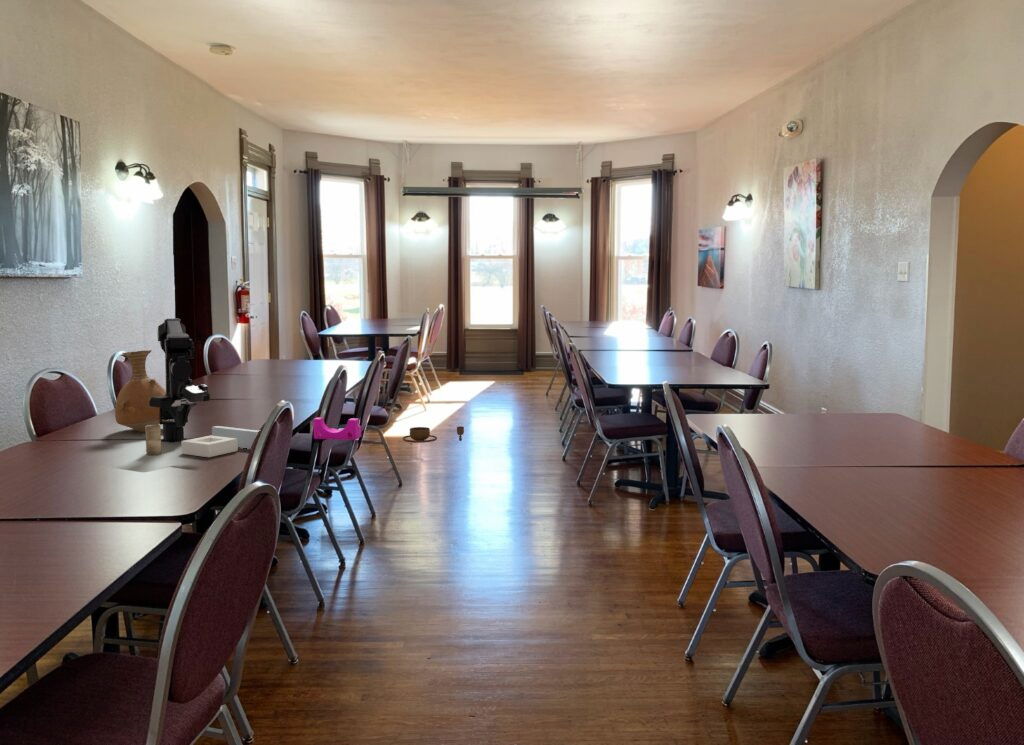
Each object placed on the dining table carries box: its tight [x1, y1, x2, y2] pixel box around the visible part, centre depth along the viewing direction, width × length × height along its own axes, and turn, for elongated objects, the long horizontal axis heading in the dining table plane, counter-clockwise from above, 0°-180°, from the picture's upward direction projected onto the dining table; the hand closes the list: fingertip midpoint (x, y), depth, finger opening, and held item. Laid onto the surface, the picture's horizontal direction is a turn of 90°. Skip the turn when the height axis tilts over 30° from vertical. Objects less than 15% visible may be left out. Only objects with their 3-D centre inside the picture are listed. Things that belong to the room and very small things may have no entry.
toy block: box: [313, 416, 362, 441], centre depth 305 cm, size 15×6×8 cm, turn 83°
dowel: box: [145, 424, 162, 456], centre depth 276 cm, size 4×4×9 cm
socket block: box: [180, 434, 239, 458], centre depth 279 cm, size 12×12×4 cm
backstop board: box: [211, 425, 260, 450], centre depth 289 cm, size 20×2×6 cm, turn 62°
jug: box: [114, 349, 166, 433], centre depth 312 cm, size 20×19×30 cm
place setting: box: [402, 425, 465, 444], centre depth 300 cm, size 18×20×6 cm
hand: (181, 426), depth 268 cm, fingers closed
